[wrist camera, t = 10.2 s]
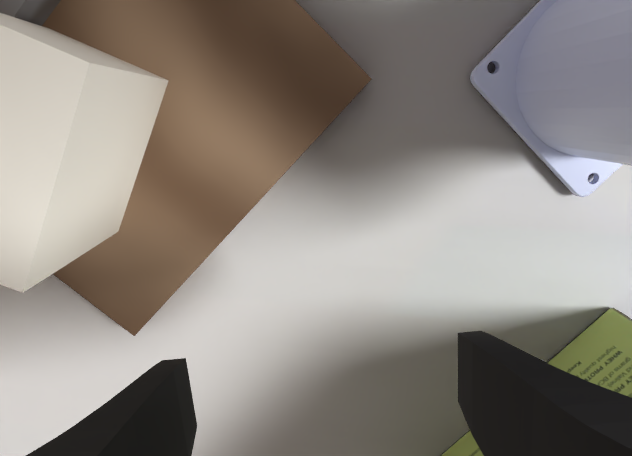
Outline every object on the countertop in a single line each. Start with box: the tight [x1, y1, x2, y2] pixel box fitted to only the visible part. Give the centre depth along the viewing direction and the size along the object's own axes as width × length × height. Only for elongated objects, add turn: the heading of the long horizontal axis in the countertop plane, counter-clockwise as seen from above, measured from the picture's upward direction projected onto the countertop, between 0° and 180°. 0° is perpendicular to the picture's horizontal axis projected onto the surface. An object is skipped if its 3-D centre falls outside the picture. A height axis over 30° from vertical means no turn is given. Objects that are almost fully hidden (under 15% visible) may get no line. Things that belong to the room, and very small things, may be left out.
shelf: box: [0, 0, 371, 336], centre depth 19 cm, size 16×12×3 cm
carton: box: [0, 13, 169, 293], centre depth 16 cm, size 5×7×7 cm
